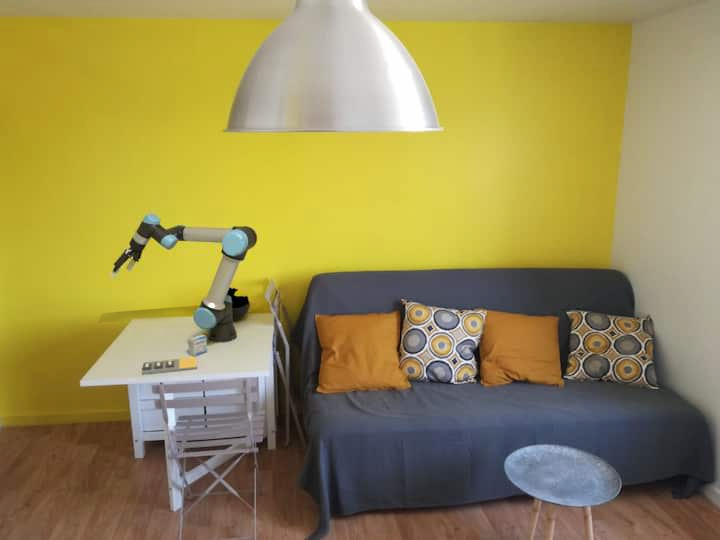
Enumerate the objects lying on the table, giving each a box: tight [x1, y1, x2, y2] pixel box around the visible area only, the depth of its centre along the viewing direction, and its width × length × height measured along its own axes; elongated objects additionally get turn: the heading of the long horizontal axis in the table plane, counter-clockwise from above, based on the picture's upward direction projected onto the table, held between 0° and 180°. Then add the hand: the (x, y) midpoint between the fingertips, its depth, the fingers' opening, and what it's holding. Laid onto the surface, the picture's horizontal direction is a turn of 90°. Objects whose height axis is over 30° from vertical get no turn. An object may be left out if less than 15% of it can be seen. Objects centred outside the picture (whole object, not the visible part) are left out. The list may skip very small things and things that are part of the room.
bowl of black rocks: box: [227, 286, 251, 322], centre depth 350 cm, size 20×20×19 cm
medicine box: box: [187, 333, 208, 357], centre depth 301 cm, size 8×4×9 cm, turn 146°
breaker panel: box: [141, 356, 198, 376], centre depth 285 cm, size 24×13×3 cm, turn 106°
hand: (120, 272), depth 313 cm, fingers open, 13 cm apart
